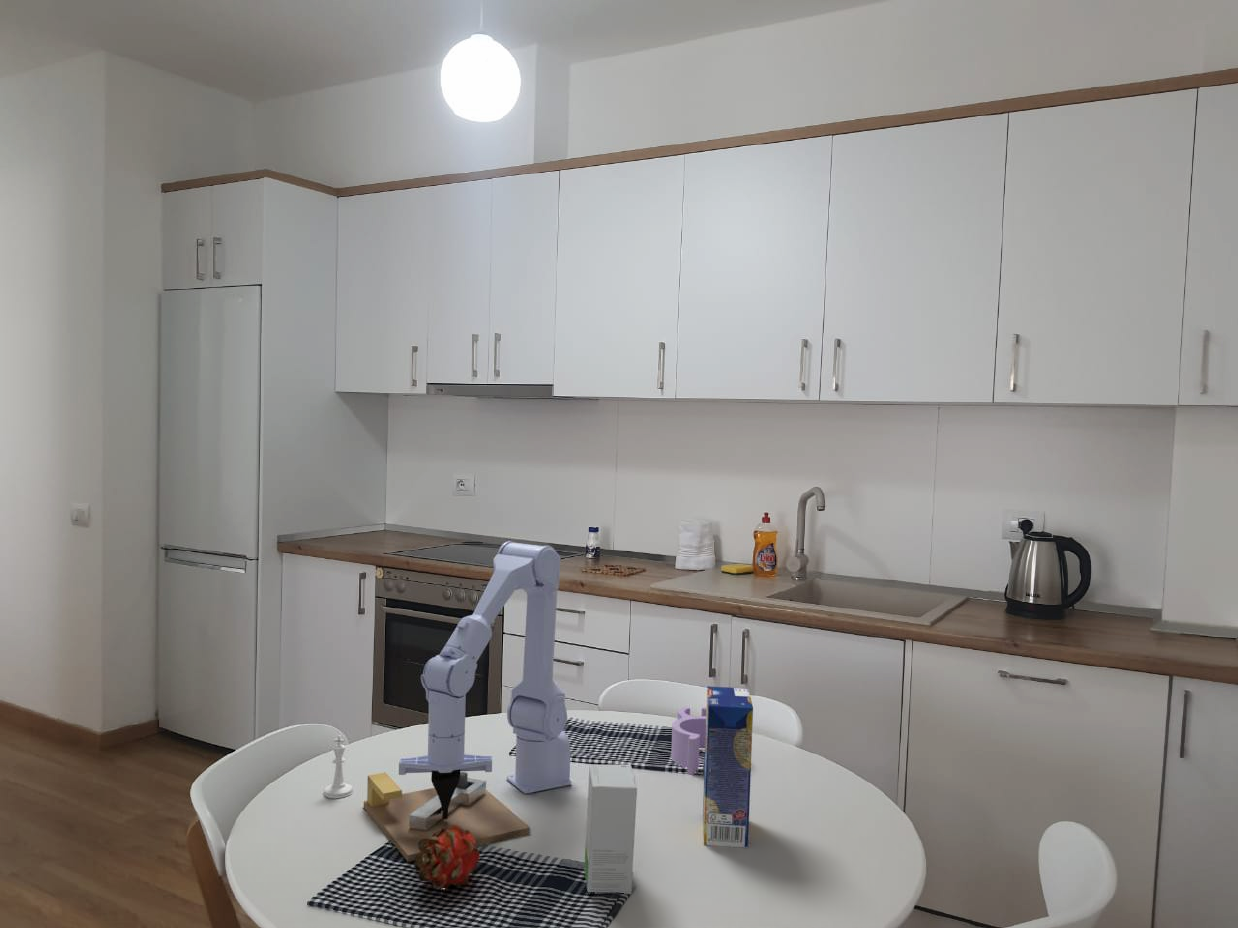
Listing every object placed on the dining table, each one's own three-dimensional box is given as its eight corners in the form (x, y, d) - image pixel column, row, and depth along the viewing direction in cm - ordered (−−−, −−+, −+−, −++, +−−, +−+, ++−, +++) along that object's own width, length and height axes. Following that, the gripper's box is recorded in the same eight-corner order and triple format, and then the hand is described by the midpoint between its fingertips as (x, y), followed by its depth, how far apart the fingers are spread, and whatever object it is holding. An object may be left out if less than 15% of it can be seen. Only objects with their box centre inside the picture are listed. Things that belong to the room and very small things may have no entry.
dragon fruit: (422, 915, 124) (456, 886, 136) (473, 884, 123) (503, 857, 135) (392, 858, 126) (428, 833, 137) (442, 826, 125) (474, 804, 136)
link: (455, 786, 161) (455, 775, 161) (485, 792, 159) (486, 780, 159) (400, 825, 145) (401, 813, 145) (434, 832, 143) (434, 819, 143)
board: (474, 785, 165) (475, 757, 165) (530, 833, 146) (531, 802, 146) (363, 807, 154) (364, 777, 154) (407, 861, 136) (408, 828, 135)
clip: (664, 738, 193) (665, 706, 193) (723, 739, 194) (725, 707, 193) (675, 775, 173) (677, 738, 173) (741, 775, 174) (742, 739, 173)
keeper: (384, 797, 156) (385, 772, 156) (401, 816, 149) (402, 789, 148) (367, 801, 154) (367, 775, 154) (383, 820, 147) (383, 793, 147)
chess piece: (344, 799, 157) (345, 741, 157) (317, 796, 158) (318, 738, 158) (358, 788, 162) (359, 732, 161) (332, 785, 163) (333, 729, 162)
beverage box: (743, 817, 154) (748, 688, 154) (748, 847, 143) (753, 708, 143) (702, 815, 155) (707, 686, 154) (703, 844, 144) (708, 705, 143)
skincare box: (584, 867, 136) (587, 762, 135) (629, 866, 136) (632, 762, 136) (587, 896, 127) (590, 785, 127) (634, 895, 128) (638, 785, 127)
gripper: (397, 741, 141) (396, 828, 142) (493, 739, 144) (491, 825, 144) (401, 726, 148) (399, 809, 149) (492, 724, 150) (490, 806, 151)
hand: (444, 816), depth 147 cm, fingers closed, pressing on link
